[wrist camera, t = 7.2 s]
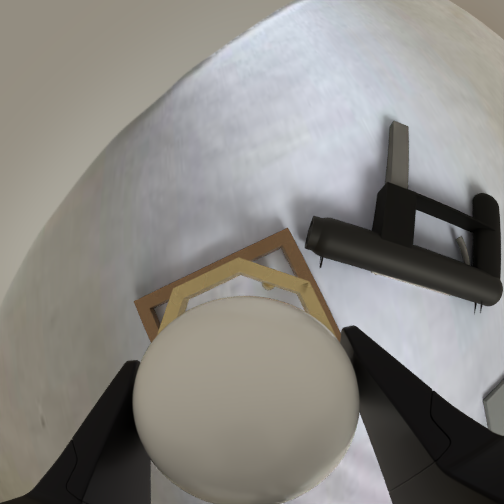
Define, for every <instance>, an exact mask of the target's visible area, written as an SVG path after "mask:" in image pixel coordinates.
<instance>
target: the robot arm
mask: <svg viewBox="0 0 504 504" xmlns="http://www.w3.org/2000/svg"><path fill="white" fill-rule="evenodd" d="M340 343H341V345H342V346H343V348H344V349H345V351H346V353H347V354H348V356H349V358H350V361H351V363H352V365H353V368H354V371H355V374H356V377H357V382H358V387H359V395H360V410H359V412H360V415H361V417H362V420H363V423H364V425H365V428H366V431H367V433H368V436H369V439H370V441H371V444H372V447H373V449H374V452H375V455H376V457H377V460H378V463H379V466H380V469H381V471H382V474H383V477H384V480H385V483H386V486H387V488H388V491H389V495H390V498H391V500H392V503H393V504H504V436H503V435H500V434H497V433H495V432H493V431H491V430H489V429H487V428H486V427H484V426H483V425H481V424H480V423H478V422H476V421H475V420H473V419H472V418H470V417H469V416H467V415H466V414H464V413H463V412H461V411H460V410H458V409H457V408H455V407H454V406H452V405H451V404H450V403H449V402H447V401H446V400H445V399H444V398H442V397H441V396H440V395H439V394H437V393H436V392H435V391H432V389H431V388H430V387H429V386H428V385H426V384H425V383H424V382H423V381H422V380H420V379H419V378H418V377H417V376H416V375H414V374H413V373H412V372H411V371H410V370H408V369H407V368H406V367H405V366H404V365H402V364H401V363H400V362H399V361H398V360H396V359H395V358H394V357H393V356H392V355H390V354H389V353H388V352H387V351H385V350H384V349H383V348H382V347H381V346H379V345H378V344H377V343H376V342H375V341H373V340H372V339H371V338H370V337H368V336H367V335H366V334H365V333H364V332H362V331H361V330H360V329H359V328H358V327H356V326H354V325H353V326H348V327H344V328H343V329H342V331H341V339H340ZM139 365H140V361H138V360H131V361H127V362H126V363H125V364H124V365H123V367H122V368H121V369H120V371H119V372H118V374H117V375H116V376H115V378H114V379H113V380H112V382H111V383H110V385H109V386H108V387H107V389H106V390H105V392H104V393H103V395H102V396H101V397H100V399H99V400H98V402H97V403H96V404H95V406H94V407H93V409H92V410H91V412H90V413H89V414H88V416H87V417H86V419H85V420H84V422H83V423H82V425H81V426H80V428H79V429H78V430H77V432H76V433H75V435H74V436H73V438H72V440H71V441H70V442H69V444H68V445H67V447H66V448H65V449H64V451H63V452H62V454H61V455H60V457H59V458H58V459H57V460H56V462H55V463H54V464H53V466H52V467H51V468H50V469H49V470H48V472H47V473H46V474H45V475H44V477H43V478H42V479H41V480H40V481H39V483H38V484H37V485H36V486H35V487H34V488H33V489H32V490H31V491H30V492H29V493H27V494H25V495H23V496H21V497H18V498H15V499H12V500H8V501H5V502H2V503H0V504H151V479H150V477H151V459H150V457H149V456H148V454H147V453H146V451H145V449H144V447H143V445H142V443H141V441H140V438H139V435H138V432H137V429H136V425H135V421H134V415H133V388H134V382H135V378H136V374H137V371H138V368H139Z"/></svg>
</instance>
